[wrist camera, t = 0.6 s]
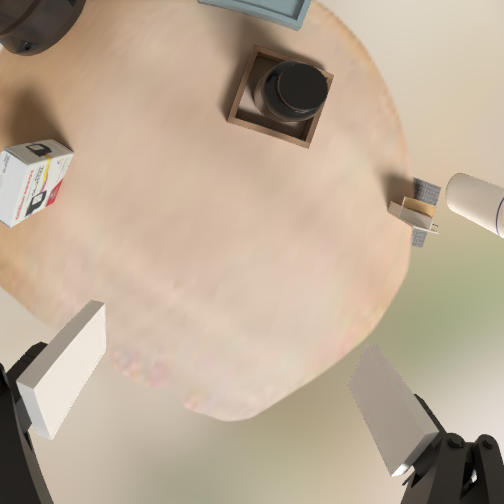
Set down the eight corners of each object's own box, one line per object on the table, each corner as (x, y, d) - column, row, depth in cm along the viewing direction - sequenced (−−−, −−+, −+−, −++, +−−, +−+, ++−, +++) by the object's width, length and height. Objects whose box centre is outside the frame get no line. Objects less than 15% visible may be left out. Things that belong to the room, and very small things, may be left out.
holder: (226, 122, 35) (227, 121, 33) (252, 49, 31) (254, 44, 29) (303, 147, 37) (308, 148, 35) (328, 77, 34) (334, 75, 32)
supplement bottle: (253, 71, 33) (268, 48, 22) (305, 75, 33) (340, 57, 22) (251, 121, 35) (266, 118, 25) (303, 124, 36) (338, 124, 25)
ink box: (53, 204, 36) (9, 232, 25) (31, 189, 35) (-16, 212, 24) (75, 152, 34) (29, 165, 23) (51, 137, 32) (2, 146, 22)
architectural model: (391, 190, 42) (419, 203, 35) (423, 200, 43) (450, 214, 36) (385, 211, 43) (411, 227, 36) (417, 219, 44) (443, 235, 37)
